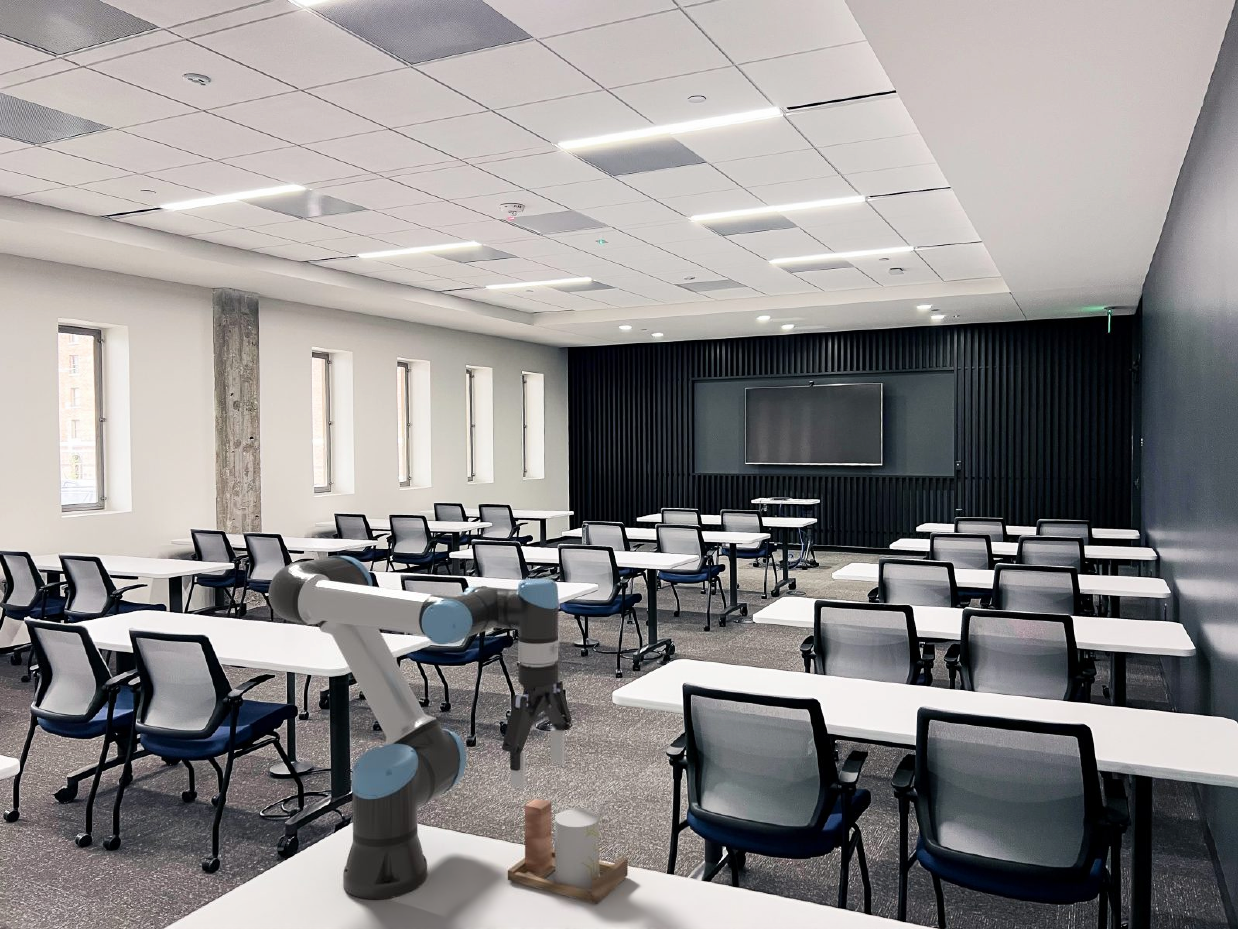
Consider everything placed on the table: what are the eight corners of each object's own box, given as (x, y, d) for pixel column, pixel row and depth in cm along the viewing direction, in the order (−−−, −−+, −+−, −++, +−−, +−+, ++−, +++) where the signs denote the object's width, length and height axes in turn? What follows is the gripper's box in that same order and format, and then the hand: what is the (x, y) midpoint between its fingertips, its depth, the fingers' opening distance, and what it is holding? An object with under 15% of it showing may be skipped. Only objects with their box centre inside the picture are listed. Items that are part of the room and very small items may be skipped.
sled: (507, 880, 165) (507, 812, 165) (542, 854, 176) (542, 790, 176) (596, 904, 157) (596, 832, 156) (627, 875, 167) (627, 808, 167)
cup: (593, 895, 160) (593, 828, 160) (549, 891, 162) (549, 825, 162) (603, 874, 168) (603, 810, 168) (561, 870, 170) (561, 807, 170)
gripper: (517, 680, 156) (517, 801, 156) (588, 651, 178) (588, 757, 178) (482, 674, 159) (482, 793, 160) (556, 647, 181) (556, 751, 182)
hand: (538, 774), depth 169 cm, fingers open, 13 cm apart
